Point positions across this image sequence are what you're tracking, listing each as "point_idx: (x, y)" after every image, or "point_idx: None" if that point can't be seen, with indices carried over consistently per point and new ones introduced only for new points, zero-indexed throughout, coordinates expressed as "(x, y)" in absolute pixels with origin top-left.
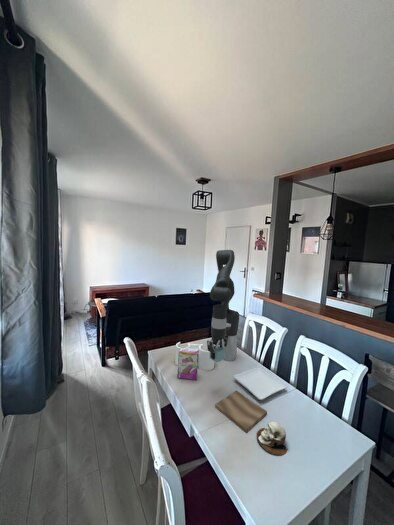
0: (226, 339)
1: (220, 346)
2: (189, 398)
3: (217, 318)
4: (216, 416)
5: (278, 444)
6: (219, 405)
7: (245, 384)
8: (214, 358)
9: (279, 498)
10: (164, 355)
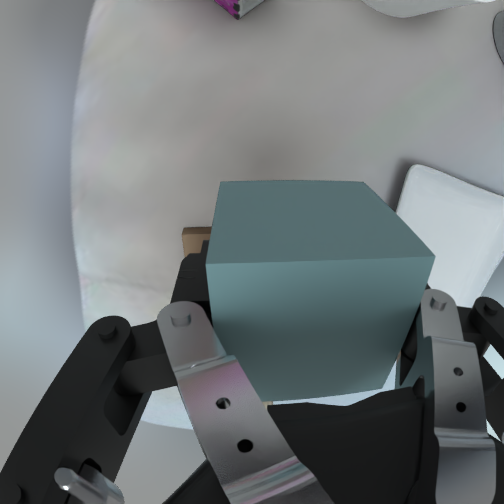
0: (500, 438)
1: (417, 323)
2: (114, 120)
3: None
4: (158, 263)
5: None
6: (193, 249)
7: (408, 222)
8: None
9: (157, 414)
10: None
